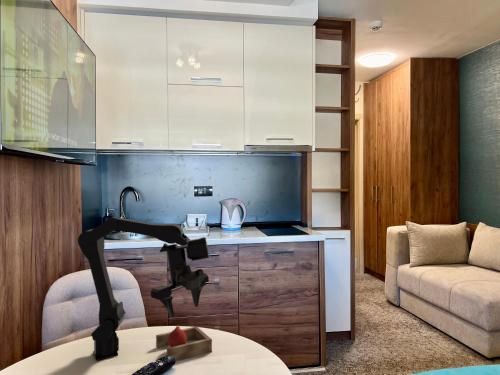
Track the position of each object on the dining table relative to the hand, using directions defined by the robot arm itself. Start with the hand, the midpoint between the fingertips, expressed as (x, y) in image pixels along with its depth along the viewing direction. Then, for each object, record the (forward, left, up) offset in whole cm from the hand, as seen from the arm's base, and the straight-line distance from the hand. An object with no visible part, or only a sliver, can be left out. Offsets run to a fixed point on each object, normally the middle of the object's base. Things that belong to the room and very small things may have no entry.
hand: (184, 311), depth 113 cm
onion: (-2, +1, -13) cm, 13 cm away
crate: (0, +1, -13) cm, 13 cm away
